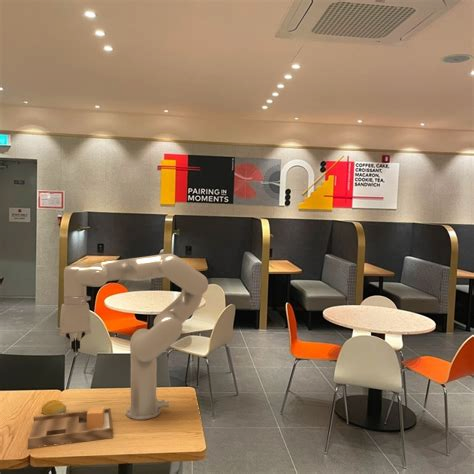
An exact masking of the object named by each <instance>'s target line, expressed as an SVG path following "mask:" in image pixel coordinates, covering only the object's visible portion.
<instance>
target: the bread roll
mask: <svg viewBox="0 0 474 474" xmlns="http://www.w3.org/2000/svg"><path fill="white" fill-rule="evenodd" d="M66 411H67V406H66V404H65V403H63V402H62V401H60V400H58V399H53V400H49V401H46V403H45V404H43V405H42V407H41V412H42V414H43V415H44V416H45V415H54V414H62V413H66Z"/></svg>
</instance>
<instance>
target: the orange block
mask: <svg viewBox="0 0 474 474" xmlns="http://www.w3.org/2000/svg"><path fill="white" fill-rule="evenodd" d="M104 409H105V406H101V407H100V406H98V407H96V406H95V407H93V406H92V407H89V408H88V409H87V411H88V412H87V428H102V426H103V424H104Z"/></svg>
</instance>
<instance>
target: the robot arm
mask: <svg viewBox="0 0 474 474" xmlns="http://www.w3.org/2000/svg"><path fill="white" fill-rule="evenodd" d="M157 278H166V279H168V280H169V281H171V283H174V285H176V286H178V287H180V289H181V291H180V294H179V295H178V296H177V297H176V299H175V300H174V301H172V302H171V303H170V304H169V305H168V306H167V307H165V308H164V309H163V310H162V311H160V312H159V313H158V314H157V315H156V316H155V318H154V320H153V326H152V327H151V328H149V329H147V328H140V329H137V330H136V331H134V332H133V334H132V336H131V337H130V341H129V352H130V406H129V407H128V408H127V409H126V412H125V413H126V416H127V417H128V418H130V419H132V420H136V421H137V420H138V421H139V420H140V421H143V420H144V421H145V420H149V419H150V420H151V419H153V418H156V417H157V416H159V415H160V413H161V408H169V407H170V402H169V401H165V399H161V400H158V399H157V367H158V365H157V363H158V362H157V361H158V360H157V358H158V357H159V356H161V354H162V353H164V352H165V351H166V350H167V349H169V347H171V346H172V345H173V344H174V343H175V342H176V341H177V340H178V339H179V337H180V336H181V334H182V333H183V324H184V323H185V322H186V321H187V320H188V319H189V318H190V317H191V316H192V315H193V314H194V313H195V312H196V311H197V310H198V308H199V306H200V305H201V302H202V299H203V295H204V294H205V293H206V292H207V291H208V287H209V280H208V278H207V276H205V275H204V274H202V273H201V272H200V271H199V270H197V269H196V268H194V267H192V266H191V265H190V264H188V262H186V261H185V260H183V259H182V258H180V257H179V256H178V255H175V254H173V253H162V254H155V255H147V256H141V257H132V258H124V259H116V260H109V261H102V262H96V263H93V264H91V265H89V266H87V267H86V266H83V265H68V266H65V268H64V269H63V303H62V304H61V308H60V320H59V328H60V330H59V336H60V337H64V338H67V339H68V340H69V341H70V347H71V348H70V350H72V352H73V353H78V352H79V349H81V341H82V339H83V337H85V336H86V335H90V334H92V330H91V312H90V311H91V310H90V305H89V303H88V301H91V299H92V297H91V295H90V296H89V295H87V287H93V288H94V287H95V288H96V287H97V288H98V287H102V286H104V285H106V283H107V282H112V281H119V280H128V281H136V282H139V281H145V280H146V281H147V280H152V279H157ZM74 333H77V336H76V339H75V337H74Z"/></svg>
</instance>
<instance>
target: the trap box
mask: <svg viewBox="0 0 474 474" xmlns="http://www.w3.org/2000/svg"><path fill="white" fill-rule="evenodd" d="M87 412H88V410H84V411H74V412H64V413H63V414H54V415H45V414H44V415H38V416H37V415H35V416H33V422H32V426H31V430H30V433H29V437H28V438H27V449H28V450H29V449H36V448H35V447H38V448H40V447H39V446H44V445H54V444H62V443H70V442H77V443H84V442H83V441H85V442H91V440H93V441H99V440H100V441H101V440H107V439H113V438H114V436H113V435H114V433H113V432H114V431H113V429H114V427H113V420H112V409H111V407H110V408H104V424H103V426H102V428H87ZM70 444H71V443H70ZM62 445H63V444H62ZM54 446H55V445H54Z"/></svg>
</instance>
